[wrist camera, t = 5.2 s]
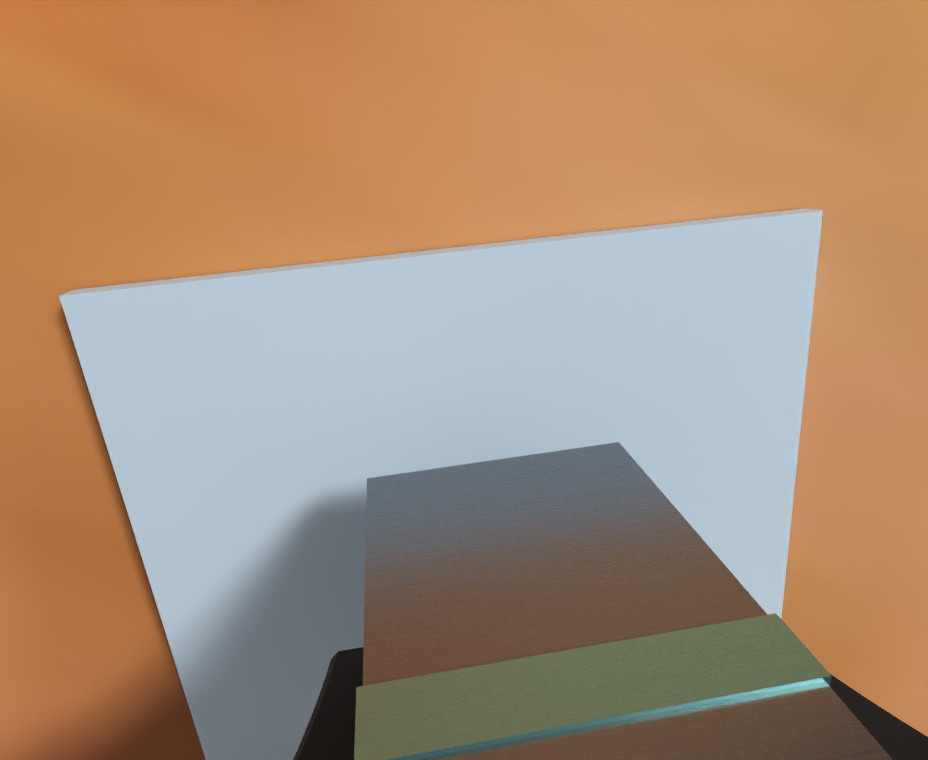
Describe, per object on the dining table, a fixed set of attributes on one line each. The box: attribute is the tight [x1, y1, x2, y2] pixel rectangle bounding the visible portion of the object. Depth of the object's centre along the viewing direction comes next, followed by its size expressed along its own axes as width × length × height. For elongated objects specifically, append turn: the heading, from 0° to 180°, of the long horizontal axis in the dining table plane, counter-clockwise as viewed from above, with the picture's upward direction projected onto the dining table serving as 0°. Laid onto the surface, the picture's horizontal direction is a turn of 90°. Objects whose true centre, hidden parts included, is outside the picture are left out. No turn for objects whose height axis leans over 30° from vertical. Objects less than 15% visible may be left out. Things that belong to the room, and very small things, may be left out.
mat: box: [59, 209, 823, 760], centre depth 13 cm, size 13×11×1 cm
